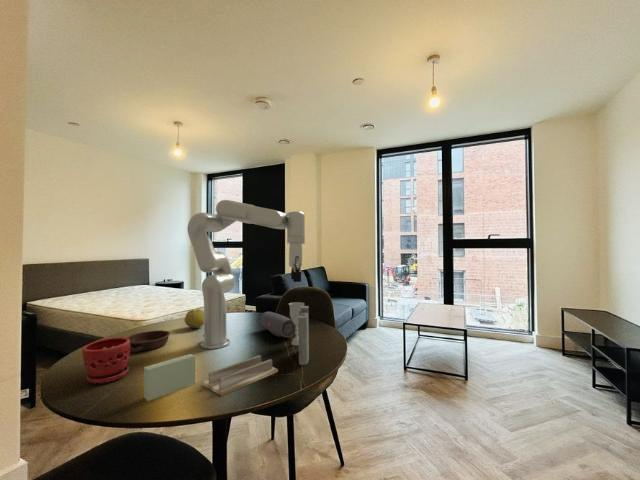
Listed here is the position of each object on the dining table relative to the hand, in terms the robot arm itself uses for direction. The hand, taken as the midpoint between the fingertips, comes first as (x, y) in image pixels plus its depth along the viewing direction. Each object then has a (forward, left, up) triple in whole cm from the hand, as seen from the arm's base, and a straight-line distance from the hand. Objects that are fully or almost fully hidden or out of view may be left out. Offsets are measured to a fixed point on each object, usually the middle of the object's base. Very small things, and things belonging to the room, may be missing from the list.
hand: (295, 280), depth 129 cm
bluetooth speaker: (-23, +10, -30) cm, 39 cm away
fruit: (-67, -10, -30) cm, 74 cm away
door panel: (-4, -50, -30) cm, 58 cm away
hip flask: (+9, -4, -30) cm, 31 cm away
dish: (-55, -38, -30) cm, 74 cm away
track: (+6, -31, -29) cm, 43 cm away
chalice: (-5, +6, -30) cm, 31 cm away
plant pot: (-30, -60, -30) cm, 74 cm away
